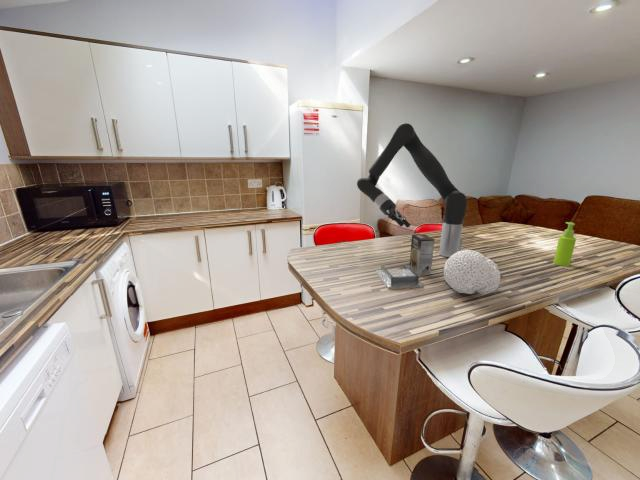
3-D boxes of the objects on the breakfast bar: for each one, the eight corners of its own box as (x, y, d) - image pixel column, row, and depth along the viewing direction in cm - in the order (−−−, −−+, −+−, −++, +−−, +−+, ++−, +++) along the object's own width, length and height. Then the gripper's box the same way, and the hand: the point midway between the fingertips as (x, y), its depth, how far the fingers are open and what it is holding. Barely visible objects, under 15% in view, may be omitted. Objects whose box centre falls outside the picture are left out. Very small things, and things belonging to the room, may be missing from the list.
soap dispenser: (565, 262, 132) (576, 221, 126) (571, 266, 126) (582, 224, 120) (550, 260, 134) (560, 220, 129) (555, 265, 128) (565, 223, 123)
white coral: (467, 283, 89) (472, 238, 94) (429, 287, 105) (435, 249, 110) (511, 303, 94) (513, 259, 99) (468, 304, 110) (472, 266, 115)
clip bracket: (406, 271, 122) (406, 262, 121) (423, 287, 106) (424, 277, 105) (375, 272, 121) (376, 263, 120) (388, 289, 105) (388, 279, 104)
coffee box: (408, 267, 126) (411, 234, 122) (421, 267, 127) (425, 233, 122) (416, 275, 118) (420, 239, 113) (431, 274, 118) (435, 238, 114)
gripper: (383, 196, 134) (406, 219, 127) (395, 200, 145) (416, 221, 138) (373, 208, 137) (395, 230, 130) (386, 211, 148) (406, 232, 141)
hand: (406, 225), depth 134 cm, fingers open, 8 cm apart
